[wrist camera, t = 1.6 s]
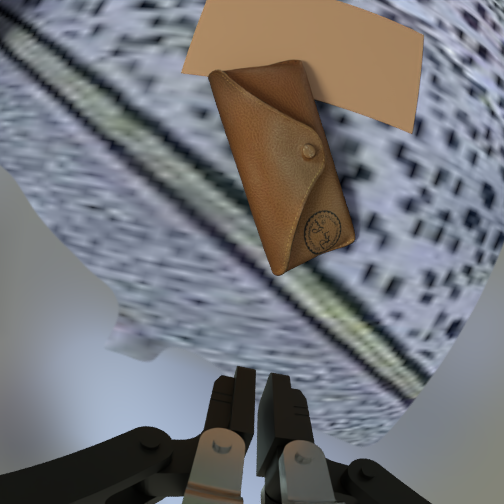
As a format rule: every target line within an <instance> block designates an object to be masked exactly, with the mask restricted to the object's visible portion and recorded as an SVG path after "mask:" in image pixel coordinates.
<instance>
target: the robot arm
mask: <svg viewBox="0 0 504 504" xmlns="http://www.w3.org/2000/svg"><path fill="white" fill-rule="evenodd" d="M255 382H256V370H255V369H250V368H245V367H241V366H237V368H236V371H235V375H234V378H233V377H228V376H224V375H221V376H220V377H219V378H218V379H217V380H216V381H215V382H214V386H213V390H212V395H211V399H210V404H209V408H208V412H207V417H206V421H205V426H204V430H203V431H202V432H201V434H199V435H198V436H196V437H194V438H191V439H187V440H172V439H171V438H170V436H169V435H168V434H167V433H165V432H164V431H162V430H160V429H158V428H155V427H149V426H148V427H147V426H143V427H138V428H135V429H133V430H131V431H128V432H126V433H124V434H121V435H119V436H116V437H114V438H112V439H109V440H106V441H104V442H102V443H99V444H96V445H94V446H91V447H89V448H86V449H83V450H80V451H77V452H75V453H72V454H69V455H66V456H63V457H61V458H57V459H55V460H51V461H49V462H45V463H42V464H39V465H35V466H32V467H29V468H25V469H22V470H18V471H15V472H10V473H7V474H3V475H0V504H155V503H157V502H159V501H161V500H162V499H164V498H165V497H170V496H171V497H172V496H173V497H179V496H184V498H183V502H182V504H243V498H242V497H241V484H242V475H243V465H244V458H245V455H246V452H247V450H248V448H249V445H250V442H251V440H252V437H253V435H254V415H255V414H254V413H255ZM256 472H257V473H256V476H259V477H265V485H264V487H263V489H262V491H261V504H431V503H430V502H429V501H427V500H426V499H424V498H423V497H422V496H420V495H419V494H418V493H416V492H415V491H413V490H412V489H411V488H409V487H408V486H407V485H405V484H404V483H403V482H401V481H400V480H399V479H397V478H396V477H395V476H394V475H392V474H391V473H390V472H388V471H387V470H386V469H384V468H383V467H382V466H381V465H379V464H378V463H377V462H374V461H373V460H370V459H357V460H354V461H353V462H351V464H350V465H349V466H348V465H344V464H341V463H337V462H334V461H331V460H329V459H327V458H325V455H324V453H323V451H322V450H321V448H319V447H318V446H317V445H315V444H314V438H313V433H312V427H311V422H310V417H309V411H308V405H307V400H306V398H305V396H304V395H303V394H302V392H301V391H300V390H298V389H292V388H291V383H290V377H289V376H288V375H282V374H276V373H270V375H269V377H268V380H267V383H266V386H265V389H264V392H263V394H262V397H261V400H260V404H259V408H258V422H257V471H256Z"/></svg>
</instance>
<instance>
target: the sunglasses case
mask: <svg viewBox="0 0 504 504" xmlns="http://www.w3.org/2000/svg"><path fill="white" fill-rule="evenodd" d="M208 79H209V82H210V85H211V89H212V92H213V95H214V99H215V102H216V105H217V108H218V111H219V114H220V117H221V121H222V123H223V126H224V129H225V133H226V136H227V139H228V141H229V145H230V148H231V150H232V154H233V156H234V160H235V163H236V165H237V169H238V172H239V175H240V178H241V181H242V184H243V187H244V190H245V193H246V196H247V199H248V202H249V205H250V209H251V212H252V215H253V218H254V221H255V224H256V227H257V230H258V233H259V236H260V239H261V242H262V245H263V248H264V251H265V253H266V256H267V259H268V262H269V264H270V267H271V270H272V273H273V274H274V275H276V276H280V275H282V274H284V273H285V272H287V271H289V270H291V269H293V268H295V267H297V266H299V265H301V264H303V263H305V262H306V261H308V260H310V259H312V258H314V257H316V256H318V255H320V254H323V253H326V252H329V251H332V250H335V249H338V248H341V247H345V246H347V245H350V244H351V243H353V242H354V240H355V231H354V227H353V224H352V220H351V217H350V214H349V210H348V207H347V205H346V201H345V198H344V195H343V192H342V188H341V185H340V182H339V178H338V175H337V172H336V169H335V165H334V161H333V158H332V155H331V152H330V148H329V145H328V142H327V139H326V135H325V132H324V129H323V126H322V123H321V120H320V117H319V114H318V111H317V108H316V104H315V101H314V98H313V95H312V91H311V88H310V84H309V81H308V78H307V74H306V71H305V68H304V66H303V64H302V61H301V60H287V61H282V62H278V63H275V64H271V65H266V66H259V67H248V68H240V69H233V70H226V71H221V70H214V71H212V72H211V73H210V74H209V76H208Z"/></svg>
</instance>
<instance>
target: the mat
mask: <svg viewBox="0 0 504 504" xmlns="http://www.w3.org/2000/svg"><path fill="white" fill-rule="evenodd" d="M423 38H424V35H422V34H420V33H418V32H416V31H414V30H412V29H410V28H408V27H405V26H403V25H401V24H399V23H396V22H394V21H392V20H389V19H387V18H384V17H382V16H379V15H377V14H374V13H372V12H369V11H366V10H364V9H361V8H358V7H355V6H352V5H349V4H346V3H343V2H340V1H336V0H207V1H206V4H205V6H204V9H203V11H202V14H201V17H200V19H199V22H198V25H197V27H196V30H195V33H194V36H193V39H192V42H191V44H190V47H189V50H188V53H187V56H186V59H185V63H184V66H183V69H182V72H181V73H184V74H193V75H200V76H207V77H208V76H209V74H210V73H211V72H212V71H214V70H221V71H226V70H233V69H240V68H248V67H259V66H266V65H271V64H275V63H278V62H282V61H287V60H301V61H302V64H303V66H304V68H305V71H306V74H307V78H308V81H309V84H310V88H311V91H312V95H313V98H314V99H315V100H318V101H322V102H325V103H328V104H332V105H335V106H338V107H341V108H344V109H347V110H350V111H353V112H356V113H359V114H362V115H365V116H368V117H370V118H373V119H376V120H378V121H381V122H384V123H386V124H389V125H391V126H394V127H396V128H399V129H401V130H404V131H406V132H408V133H411V134H412V131H413V125H414V119H415V113H416V106H417V99H418V91H419V83H420V74H421V64H422V53H423Z"/></svg>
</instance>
